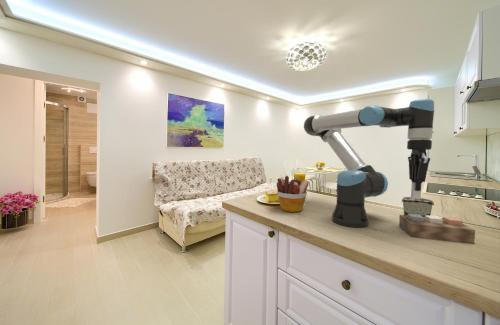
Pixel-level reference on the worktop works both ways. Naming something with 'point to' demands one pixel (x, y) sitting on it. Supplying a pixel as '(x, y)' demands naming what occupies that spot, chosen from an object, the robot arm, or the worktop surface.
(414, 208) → the food container
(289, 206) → the bucket of meat
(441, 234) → the brown wooden tray
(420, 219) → the slate key
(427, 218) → the ivory key
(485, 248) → the worktop surface
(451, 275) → the worktop surface
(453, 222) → the terracotta key
